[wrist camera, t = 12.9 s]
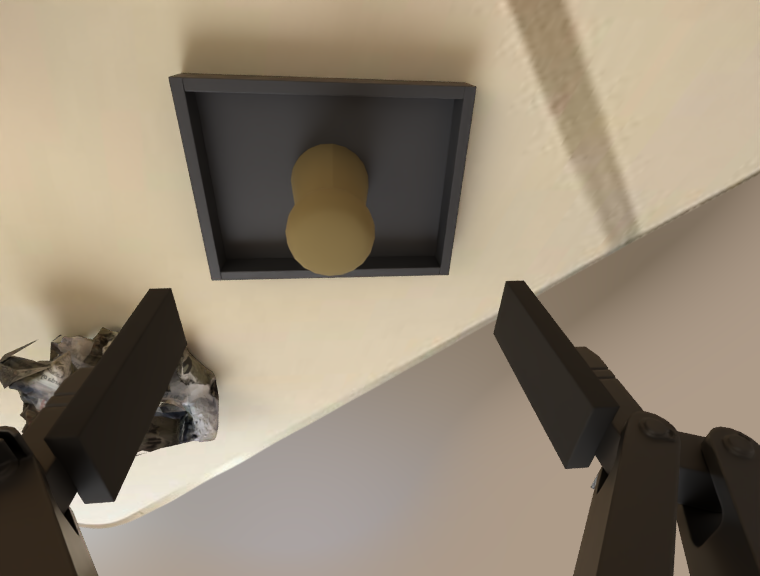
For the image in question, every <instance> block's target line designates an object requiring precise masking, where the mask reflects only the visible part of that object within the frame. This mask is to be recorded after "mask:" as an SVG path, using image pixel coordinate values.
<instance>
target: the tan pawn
mask: <svg viewBox="0 0 760 576" xmlns="http://www.w3.org/2000/svg"><path fill="white" fill-rule="evenodd" d="M291 185H292V192H293V198H294V204H295V205H294V207H293V208H292V210H291V212H290V213H289V216H288V220H287V226H286V231H285V232H286V238H287V244H288V247H289V249H290V251H291V253H292V254H293V256H294V258H295V259H296V260H297V261H298V262H299V263H300V264H301V265H302V266H303V267H304V268H306V269H308V270H310V271H312V272H314V273H316V274H321V275H326V276H334V275H342V274H345V273H348V272H350V271H353V270H354V269H356V268H357V267H358V266H360V265H361V264H363V262H364V261H365V260H366V258H367V257H368V256H369V254H370V252H371V249H372V246H373V243H374V240H375V225H374V222H373V219H372V216H371V214H370V211H369V209H368V208H367V207H366V201H367V194H368V174H367V171H366V169H365V166H364V164H363V162H362V161H361V160H360V159H359V157H358V156H357V155H356V154H355V153H353V152H352V151H350V150H349V149H347V148H346V147H343V146H340V145H336V144H320V145H317V146H315V147H312V148H310V149H308V150H307V151H305V152H304V153H303V154H302V155H301V156H300V157H299V158H298V160H297V161H296V163H295V165H294V167H293V170H292V175H291Z"/></svg>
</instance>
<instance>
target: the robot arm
mask: <svg viewBox="0 0 760 576" xmlns="http://www.w3.org/2000/svg"><path fill="white" fill-rule="evenodd" d="M494 335H495V337H496V339H497V341H498V343H499V345H500V347H501V349H502V351H503V353H504V354H505V356H506V358H507V360H508V362H509V364H510V366H511V368H512V369H513V371H514V373H515V375H516V377H517V379H518V381H519V383H520V384H521V386H522V388H523V390H524V392H525V394H526V396H527V398H528V400H529V401H530V403H531V405H532V407H533V409H534V411H535V412H536V415H537V416H538V418H539V420H540V422H541V424H542V426H543V428H544V430H545V432H546V433H547V435H548V437H549V439H550V441H551V442H552V445H553V446H554V448H555V450H556V452H557V454H558V456H559V458H560V460H561V461H562V464H563V465H564V467H565V469H572V468H585V467H589V466H590V464H591V462H592V460H593V458H594V456H595V455H596V457H597V459H598V460H599V462H600V463H601V465H602V467H601V469H600V471H599V473H598V475H597V477H596V479H595V480H594V483H593V484H592V486H591V488H593V489H594V493H593V498H592V502H591V506H590V510H589V514H588V518H587V522H586V526H585V530H584V534H583V538H582V542H581V546H580V550H579V554H578V558H577V562H576V567H575V570H574V574H573V576H673V572H674V554H675V537H676V520H677V523H678V527H679V531H680V536H681V540H682V544H683V548H684V552H685V556H686V560H687V564H688V568H689V573H690V576H760V445H758V443H756V442H755V441H754V440H753V439H751V438H750V437H748V436H746V435H744V434H743V433H741V432H739V431H736V430H734V429H731V428H726V427H716V428H713V429H712V430H711V431H710V433H709V434H708V435H707V436H706V437H702V436H697V435H692V434H688V433H683V432H678V431H677V430H676V429H675V428H674V427H673V426H672V425H671V424H670V423H669V422H668V421H666V420H665V419H663V418H661V417H659V416H658V415H656V414H652V413H649V412H644V411H643V410H642V408H641V407H640V406H639V405H638V404H637V402H636V401H635V400H634V399H633V398H632V396H631V395H630V394H629V393H628V391H627V390H626V389H625V388H624V386H623V385H622V384H621V383H620V382H619V380H618V379H616V378H615V375H614V374H613V373H612V372H611V371H610V370H608V367H607V366H606V364H604V362H603V361H602V360H601V358H600V357H599V356H598V355H596V354H595V353H594V352H592V351H591V350H589V349H588V348H587V347H574V346H573V344H572V343H571V342H570V340H569V339H568V338H567V336H566V335H565V334H564V333H563V331H562V330H561V329H560V327H559V326H558V325H557V323H556V322H555V321H554V319H553V318H552V317H551V315H550V314H549V313H548V312H547V310H546V309H545V308H544V306H543V305H542V304H541V302H540V301H539V300H538V299H537V297H536V296H535V295H534V293H533V292H532V291H531V289H530V288H529V287H528V285H527V284H526V283H525V282H524V281H506V283H505V287H504V292H503V296H502V300H501V304H500V308H499V313H498V317H497V321H496V325H495V330H494ZM186 346H187V342H186V339H185V335H184V332H183V328H182V325H181V321H180V318H179V314H178V310H177V307H176V303H175V300H174V296H173V293H172V289H171V288H161V289H149V291H148V292H147V293H146V295H145V296H144V298H143V299H142V300H141V302H140V303H139V305H138V306H137V308H136V309H135V310H134V312H133V313H132V315H131V316H130V317H129V319H128V320H127V322H126V323H125V324H124V326H123V327H122V329H121V330H120V332H119V333H118V334H117V336H116V337H115V339H114V340H113V341H112V343H111V344H110V346H109V347H108V348H107V350H106V351H105V353H104V354H103V356H102V357H101V358H100V360H99V361H98V363H97V364H96V365H95V367H85V368H79V369H78V370H77V371H75V372H74V373H73V374H71V375H70V376H69V377H67V378H66V379H65V380H64V381H63V382H62V383H61V385H60V386H59V387H58V388H57V390H56V391H55V392H54V396H51V398H50V399H49V400H48V401H47V403H46V404H45V408H42V409H41V411H40V412H39V413H38V414H37V416H36V417H35V418H34V420H33V421H32V422H31V424H30V425H29V426H28V428H27V429H26V430H25V431H24V433H23V434H22V435H21V434H20V433H19V432H18V431H17V430H16V428H14V427H9V426H1V427H0V576H98V574H97V571H96V569H95V566H94V564H93V561H92V559H91V556H90V554H89V551H88V549H87V546H86V544H85V541H84V538H83V536H82V533H81V531H80V528H79V526H78V523H77V521H76V518H75V516H74V513H73V511H72V510H71V508H70V507H69V505H70V504H71V502H72V500H73V498H74V496H75V495H76V493H77V492H78V494H79V496H80V497H81V499H82V500H83V502H84V503H85V504H89V503H103V502H115V499H116V497H117V495H118V493H119V491H120V489H121V486H122V484H123V482H124V480H125V478H126V476H127V474H128V471H129V469H130V467H131V465H132V463H133V461H134V458H135V456H136V454H137V452H138V450H139V448H140V445H141V443H142V441H143V439H144V437H145V435H146V432H147V430H148V428H149V426H150V424H151V422H152V419H153V417H154V415H155V413H156V411H157V409H158V407H159V404H160V402H161V400H162V398H163V396H164V394H165V391H166V389H167V387H168V385H169V383H170V381H171V378H172V376H173V374H174V372H175V370H176V368H177V365H178V363H179V361H180V359H181V357H182V355H183V353H184V350H185V348H186Z"/></svg>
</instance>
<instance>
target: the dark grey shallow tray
mask: <svg viewBox="0 0 760 576" xmlns="http://www.w3.org/2000/svg"><path fill="white" fill-rule="evenodd" d="M169 82H170V87H171V91H172V96H173V101H174V105H175V110H176V115H177V119H178V124H179V129H180V134H181V138H182V143H183V148H184V152H185V157H186V162H187V166H188V171H189V176H190V180H191V185H192V190H193V194H194V199H195V204H196V209H197V213H198V218H199V223H200V227H201V232H202V237H203V241H204V246H205V251H206V255H207V260H208V265H209V269H210V274H211V279H212V280H248V279H291V278H335V277H378V276H422V275H439V274H440V275H449V269H450V262H451V255H452V248H453V242H454V235H455V228H456V222H457V215H458V208H459V201H460V195H461V188H462V181H463V174H464V168H465V161H466V154H467V148H468V141H469V134H470V127H471V121H472V114H473V107H474V101H475V94H476V86H473V85H470V84H468V83H465V82H435V81H404V80H374V79H343V78H313V77H282V76H252V75H221V74H191V73H181V74H177V75H174V76H170V77H169ZM320 144H336V145H340V146H343V147H346V148H347V149H349V150H350V151H352V152H353V153H355V154H356V155H357V156H358V157H359V159H360V160H361V161H362V162H363V164H364V166H365V169H366V171H367V174H368V194H367V201H366V207H367V208H368V209H369V211H370V214H371V216H372V219H373V222H374V225H375V240H374V243H373V246H372V249H371V252H370V254H369V256H368V257H367V258H366V260H365V261H364V262H363V264H361V265H360V266H358V267H357V268H356V269H354V270H353V271H350V272H348V273H345V274H342V275H334V276H326V275H321V274H316V273H314V272H312V271H310V270H308V269H306V268H304V267H303V266H302V265H301V264H300V263H299V262H298V261H297V260H296V259H295V258H294V256H293V254H292V253H291V251H290V249H289V247H288V244H287V238H286V232H285V231H286V226H287V220H288V216H289V213H290V212H291V210H292V208H293V207H294V205H295V204H294V198H293V192H292V185H291V175H292V170H293V167H294V165H295V163H296V161H297V160H298V158H299V157H300V156H301V155H302V154H303V153H304V152H305V151H307V150H308V149H310V148H312V147H315V146H317V145H320Z"/></svg>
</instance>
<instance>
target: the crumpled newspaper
mask: <svg viewBox="0 0 760 576" xmlns="http://www.w3.org/2000/svg"><path fill="white" fill-rule="evenodd" d="M118 333H119V332H113V331H110V330H108V329H106V328H103V327H102V329H101V330H100V331H99V333H98V334H97V336H96V337H95V338H94V339H93V340H92V339H87V338H84V337H80V336H77V337H63V338H62V341H61V343H59V344H57V343H53V342H51V353H50V361H38V362H35V361H33V360H29V359H25V358H20V357H16V356H12V355H13V354H15V353H17V352H18V351H20V350H22V349H23V348H25V347H27V346H28V345H30V344H32V343H33V342H31V343H29V344H27V345H25V346H23V347H20V348H18V349H16V350H14V351H12V352H9V353H7V354H5V355H4V356H3V357H2V358H1V360H0V381H1V383H2V385H3V387H4V389H5V388H6V387H8V386H9V388H10V389H16V390H18V392H19V394H20V397H21V399H22V401H23V402H24V405H23V412H22V413H21V414H20V416H22V417H23V418H24V419H25V420H26V425H25V426H24V428H23V430H22V433H24V431H25V430H26V429H27V428H28V426H29V425H30V424H31V422H32V421H33V420H34V418H35V417H36V416H37V414H38V413H39V412H40V411H41V409H42V408H45V404H46V403H47V401H48V400H49V399H50V398H51V396H54V392H55V391H56V390H57V388H58V387H59V386H60V385H61V383H62V382H63V381H64V380H65V379H66V378H67V377H69V376H70V375H71V374H73V373H74V372H75V371H77V370H78V369H79V368H85V367H95V365H96V364H97V363H98V361H99V360H100V358H101V357H102V356H103V354H104V353H105V351H106V350H107V348H108V347H109V346H110V344H111V343H112V341H113V340H114V339H115V337H116V336H117V334H118ZM60 336H61V335H59V336H58V337H60ZM58 337H57V338H58ZM57 338H56V339H57ZM54 340H55V339H54ZM54 340H53V341H54ZM36 341H37V340H36ZM34 342H35V341H34ZM161 402H165V403H162V404H161V405H160V406H159V407H158V409H157V411H156V413H155V415H154V417H153V419H152V422H151V424H150V426H149V428H148V430H147V432H146V435H145V437H144V439H143V441H142V443H141V445H140V448H139V450H138V452H139V451H142V450H143V451H148V452H151V451H154V450H157V449H160V448H164V447H169V446H173V445H178V444H182V443H186V442H190V441H199V442H203V441H212V440H215V438H216V435H217V430H218V409H219V396H218V390H217V384H216V378H215V376H214V374H213V372H212V371H209V370H208V369H206V368H205V367H204V366H203V365H202V364H201V363H200V362H199V361H197V360H196V359H195V358H194V357H193V356H192V355H191V354H190V353H188V351H187V349H186V348H185V350H184V353H183V355H182V357H181V359H180V361H179V363H178V365H177V368H176V370H175V372H174V374H173V376H172V378H171V381H170V383H169V385H168V387H167V389H166V391H165V394H164V396H163V398H162V400H161ZM169 403H170V404H169ZM143 454H145V453H143ZM139 455H141V454H139ZM136 456H137V455H136Z"/></svg>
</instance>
